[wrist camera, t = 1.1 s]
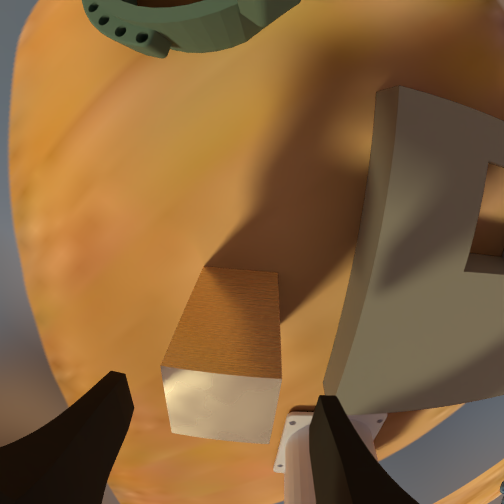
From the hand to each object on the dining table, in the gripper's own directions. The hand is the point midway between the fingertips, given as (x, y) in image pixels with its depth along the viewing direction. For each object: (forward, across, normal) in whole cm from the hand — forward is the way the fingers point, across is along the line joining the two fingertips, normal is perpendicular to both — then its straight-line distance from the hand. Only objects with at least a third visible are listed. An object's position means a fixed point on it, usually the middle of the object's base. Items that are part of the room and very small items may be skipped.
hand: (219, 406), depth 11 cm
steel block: (+8, 0, 0) cm, 8 cm away
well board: (+8, -14, -3) cm, 16 cm away
